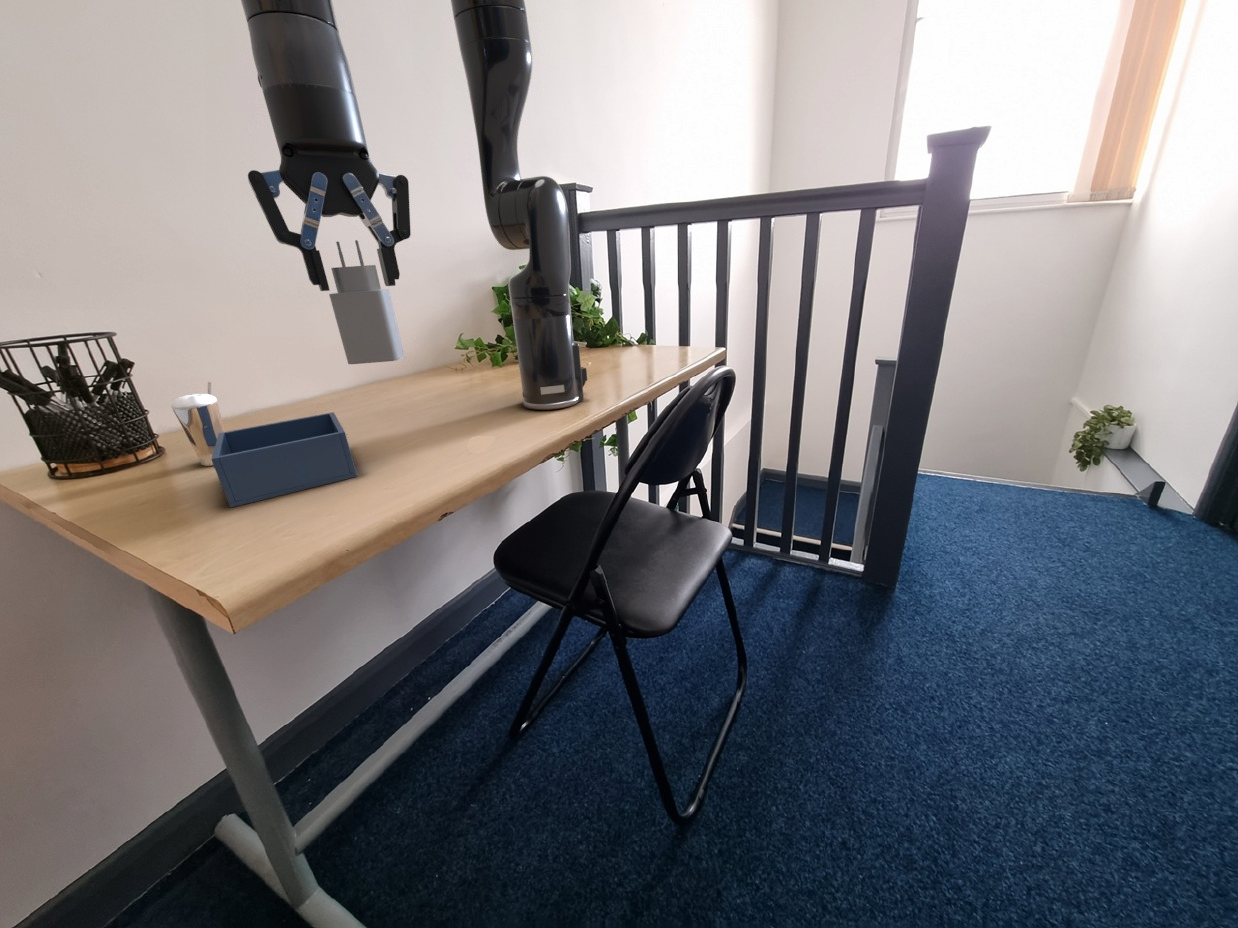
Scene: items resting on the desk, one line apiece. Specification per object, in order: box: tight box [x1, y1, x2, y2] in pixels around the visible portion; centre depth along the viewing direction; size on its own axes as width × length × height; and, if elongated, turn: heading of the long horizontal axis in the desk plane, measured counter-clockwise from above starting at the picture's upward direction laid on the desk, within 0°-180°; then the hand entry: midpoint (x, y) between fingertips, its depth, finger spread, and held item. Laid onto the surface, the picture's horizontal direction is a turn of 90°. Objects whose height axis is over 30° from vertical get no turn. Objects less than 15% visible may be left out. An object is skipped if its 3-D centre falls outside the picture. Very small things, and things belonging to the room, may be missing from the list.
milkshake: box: [170, 381, 226, 467], centre depth 64 cm, size 4×5×10 cm
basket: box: [211, 411, 358, 508], centre depth 58 cm, size 12×11×6 cm
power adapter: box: [328, 240, 405, 365], centre depth 52 cm, size 3×5×12 cm, turn 95°
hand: (358, 287), depth 52 cm, fingers closed on power adapter, 5 cm apart
